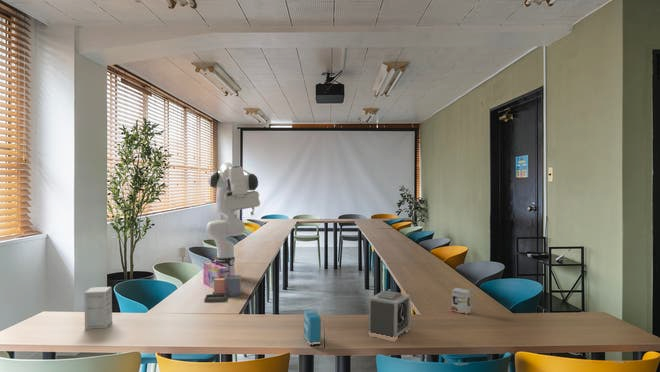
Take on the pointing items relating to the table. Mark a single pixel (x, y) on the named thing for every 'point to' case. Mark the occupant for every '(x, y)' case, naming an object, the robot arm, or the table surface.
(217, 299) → the tray
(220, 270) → the gum box
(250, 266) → the table surface
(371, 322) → the alarm clock
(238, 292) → the dispenser
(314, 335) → the data package
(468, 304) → the ink box
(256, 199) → the robot arm
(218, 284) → the salmon pink tall block
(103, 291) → the supplement box
